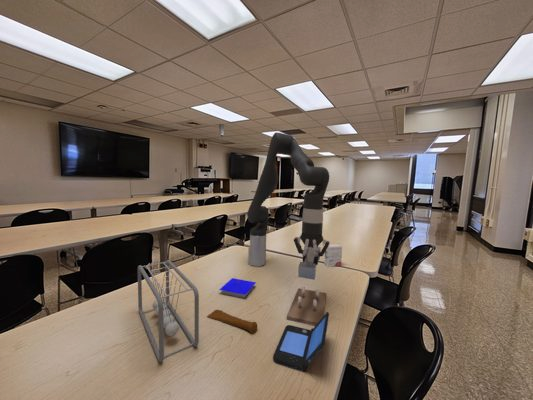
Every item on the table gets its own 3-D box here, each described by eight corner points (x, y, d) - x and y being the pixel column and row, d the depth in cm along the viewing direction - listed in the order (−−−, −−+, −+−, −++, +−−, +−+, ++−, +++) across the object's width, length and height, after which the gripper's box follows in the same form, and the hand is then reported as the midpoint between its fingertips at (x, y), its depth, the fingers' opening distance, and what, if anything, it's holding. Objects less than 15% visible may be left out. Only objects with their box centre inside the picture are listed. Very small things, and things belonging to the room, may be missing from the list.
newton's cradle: (138, 311, 82) (137, 263, 80) (168, 302, 89) (168, 258, 87) (159, 366, 59) (158, 300, 57) (199, 349, 65) (199, 289, 64)
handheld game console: (286, 328, 76) (287, 301, 75) (327, 338, 71) (329, 310, 71) (271, 363, 61) (272, 330, 60) (322, 379, 57) (324, 344, 56)
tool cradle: (286, 319, 80) (287, 305, 80) (298, 290, 101) (298, 279, 100) (321, 327, 76) (322, 312, 76) (326, 295, 97) (326, 284, 97)
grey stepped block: (298, 277, 79) (298, 266, 79) (306, 254, 97) (307, 245, 96) (314, 279, 78) (315, 268, 77) (320, 256, 96) (320, 247, 95)
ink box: (337, 263, 136) (338, 243, 135) (341, 266, 131) (342, 246, 130) (323, 263, 134) (324, 244, 133) (327, 267, 130) (328, 246, 128)
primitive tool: (205, 318, 80) (206, 308, 80) (216, 310, 85) (216, 301, 85) (252, 337, 71) (253, 326, 71) (261, 327, 76) (261, 317, 76)
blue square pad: (219, 294, 96) (219, 282, 96) (232, 282, 108) (232, 271, 107) (245, 300, 92) (245, 287, 92) (255, 287, 104) (256, 275, 103)
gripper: (291, 220, 84) (290, 266, 86) (331, 224, 80) (328, 271, 81) (295, 217, 91) (294, 259, 93) (332, 220, 87) (329, 264, 89)
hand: (310, 265), depth 87 cm, fingers closed on grey stepped block, 3 cm apart
